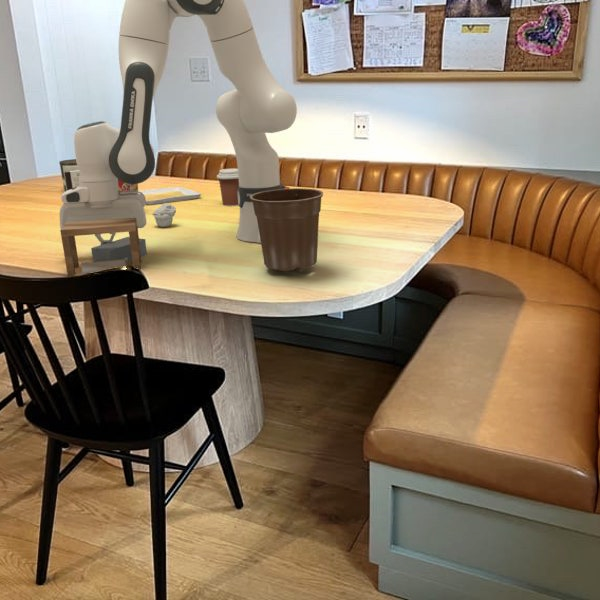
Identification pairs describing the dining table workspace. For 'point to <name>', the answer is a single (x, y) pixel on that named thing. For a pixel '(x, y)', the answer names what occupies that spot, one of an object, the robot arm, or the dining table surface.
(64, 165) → the coffee can
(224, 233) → the dining table surface
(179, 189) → the salad plate
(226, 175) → the coffee cup
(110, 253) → the slab
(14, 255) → the dining table surface
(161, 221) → the grey lumpy rounded piece
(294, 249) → the plant pot
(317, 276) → the dining table surface
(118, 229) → the bench
